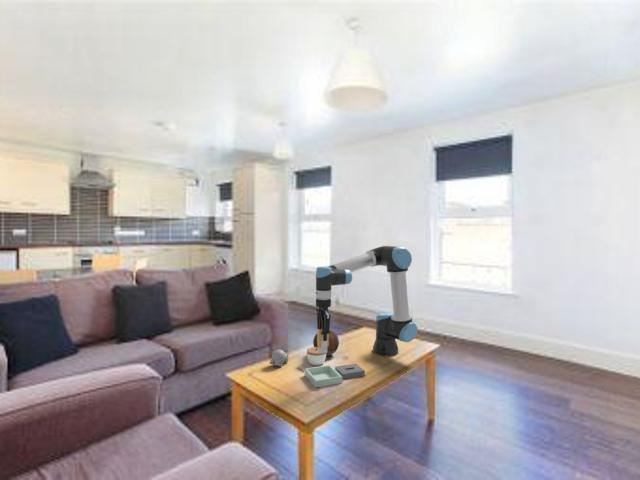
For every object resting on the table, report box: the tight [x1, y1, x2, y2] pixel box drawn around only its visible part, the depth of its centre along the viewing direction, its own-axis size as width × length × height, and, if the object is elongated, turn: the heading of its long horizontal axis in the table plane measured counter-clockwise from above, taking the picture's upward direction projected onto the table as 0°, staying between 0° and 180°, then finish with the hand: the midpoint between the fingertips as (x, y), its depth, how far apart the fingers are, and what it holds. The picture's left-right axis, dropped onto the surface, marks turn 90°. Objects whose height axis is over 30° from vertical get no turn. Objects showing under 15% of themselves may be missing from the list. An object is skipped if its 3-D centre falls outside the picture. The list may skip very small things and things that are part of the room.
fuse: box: [316, 329, 329, 354], centre depth 177 cm, size 5×3×12 cm, turn 111°
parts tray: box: [304, 364, 343, 389], centre depth 178 cm, size 14×16×4 cm
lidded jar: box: [306, 346, 327, 366], centre depth 198 cm, size 11×11×9 cm
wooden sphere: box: [312, 329, 340, 357], centre depth 212 cm, size 15×15×15 cm
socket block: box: [334, 363, 366, 380], centre depth 185 cm, size 12×10×3 cm
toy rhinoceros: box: [269, 349, 290, 368], centre depth 197 cm, size 7×12×8 cm, turn 140°
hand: (322, 345), depth 178 cm, fingers closed on fuse, 3 cm apart
